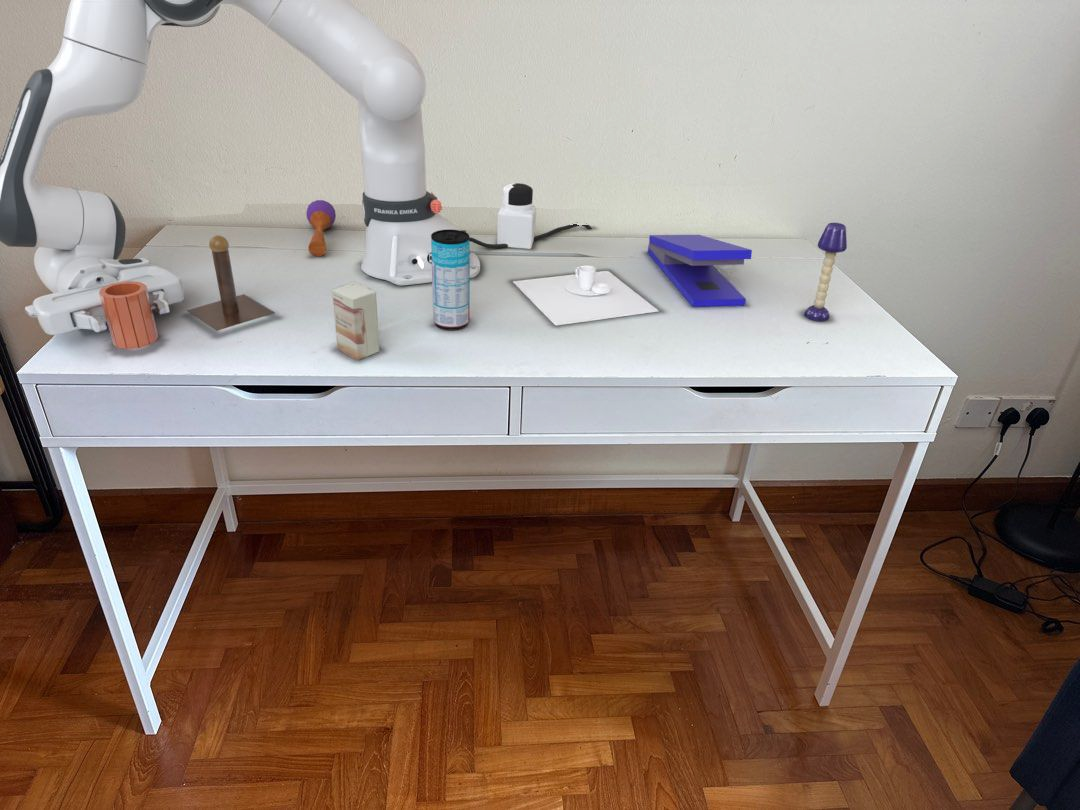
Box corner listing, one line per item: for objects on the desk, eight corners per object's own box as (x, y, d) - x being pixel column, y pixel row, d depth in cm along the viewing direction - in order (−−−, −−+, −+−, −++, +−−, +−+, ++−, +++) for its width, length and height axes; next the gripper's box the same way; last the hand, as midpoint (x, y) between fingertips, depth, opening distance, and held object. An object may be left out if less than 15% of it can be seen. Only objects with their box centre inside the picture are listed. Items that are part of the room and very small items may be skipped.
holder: (244, 299, 129) (231, 221, 122) (276, 318, 123) (264, 237, 116) (187, 315, 122) (170, 234, 115) (217, 336, 117) (201, 252, 110)
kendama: (297, 237, 144) (303, 198, 160) (306, 265, 148) (312, 224, 164) (328, 231, 145) (331, 193, 161) (337, 259, 149) (339, 219, 164)
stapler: (689, 306, 135) (698, 254, 130) (643, 252, 158) (649, 205, 153) (749, 305, 137) (760, 253, 132) (695, 251, 160) (703, 205, 155)
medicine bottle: (534, 238, 162) (537, 182, 156) (531, 249, 156) (533, 191, 150) (501, 235, 163) (503, 179, 157) (497, 246, 157) (498, 189, 151)
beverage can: (473, 318, 127) (474, 231, 119) (463, 333, 122) (463, 243, 114) (439, 314, 127) (437, 227, 120) (428, 328, 122) (425, 239, 115)
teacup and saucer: (617, 296, 137) (619, 275, 135) (577, 301, 134) (579, 280, 132) (595, 279, 144) (597, 258, 142) (557, 283, 141) (559, 262, 139)
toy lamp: (813, 323, 132) (838, 230, 123) (794, 313, 135) (817, 221, 126) (833, 319, 134) (859, 227, 125) (814, 309, 137) (837, 219, 128)
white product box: (336, 350, 115) (329, 288, 109) (359, 341, 118) (354, 280, 112) (358, 361, 112) (352, 298, 107) (381, 352, 115) (377, 290, 110)
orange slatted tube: (148, 332, 117) (135, 277, 112) (166, 345, 113) (153, 289, 109) (107, 344, 113) (92, 288, 108) (125, 358, 109) (109, 301, 105)
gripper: (13, 287, 110) (48, 317, 102) (155, 255, 123) (196, 279, 115) (27, 326, 113) (62, 359, 105) (164, 291, 126) (204, 317, 118)
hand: (133, 317), depth 110 cm, fingers open, 8 cm apart
